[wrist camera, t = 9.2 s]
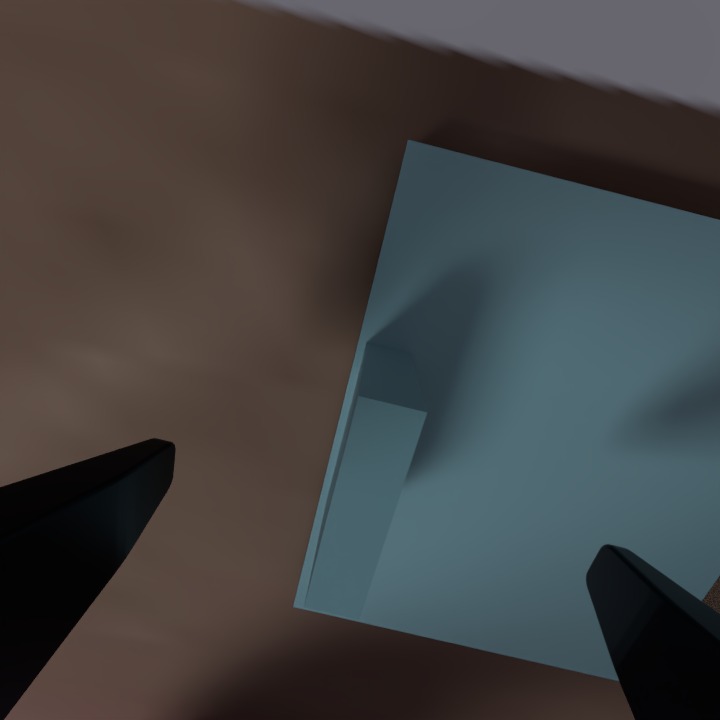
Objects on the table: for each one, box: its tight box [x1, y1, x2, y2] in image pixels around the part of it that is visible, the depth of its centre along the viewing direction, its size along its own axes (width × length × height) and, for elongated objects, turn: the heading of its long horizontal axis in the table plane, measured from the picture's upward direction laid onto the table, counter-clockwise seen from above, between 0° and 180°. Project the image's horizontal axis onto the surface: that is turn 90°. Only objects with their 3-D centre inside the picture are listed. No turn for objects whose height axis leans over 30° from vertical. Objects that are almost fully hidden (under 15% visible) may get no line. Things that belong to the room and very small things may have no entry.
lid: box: [293, 140, 720, 681], centre depth 9 cm, size 14×12×5 cm
